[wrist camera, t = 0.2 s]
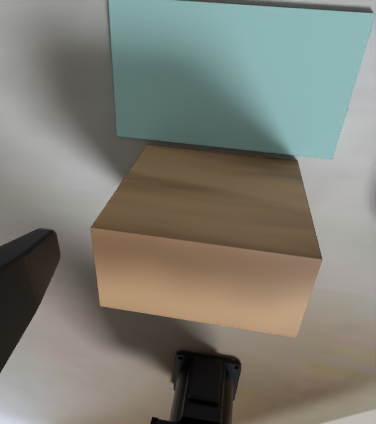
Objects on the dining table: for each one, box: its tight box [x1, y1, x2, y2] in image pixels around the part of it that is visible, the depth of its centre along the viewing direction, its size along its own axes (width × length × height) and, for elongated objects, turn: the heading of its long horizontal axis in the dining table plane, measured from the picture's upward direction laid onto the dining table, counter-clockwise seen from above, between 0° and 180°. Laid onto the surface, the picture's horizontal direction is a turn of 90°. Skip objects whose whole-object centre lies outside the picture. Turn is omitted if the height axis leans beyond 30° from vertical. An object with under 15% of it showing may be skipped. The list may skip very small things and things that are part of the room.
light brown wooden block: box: [91, 145, 322, 338], centre depth 21 cm, size 5×10×10 cm, turn 87°
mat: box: [108, 0, 375, 159], centre depth 21 cm, size 8×14×1 cm, turn 87°
